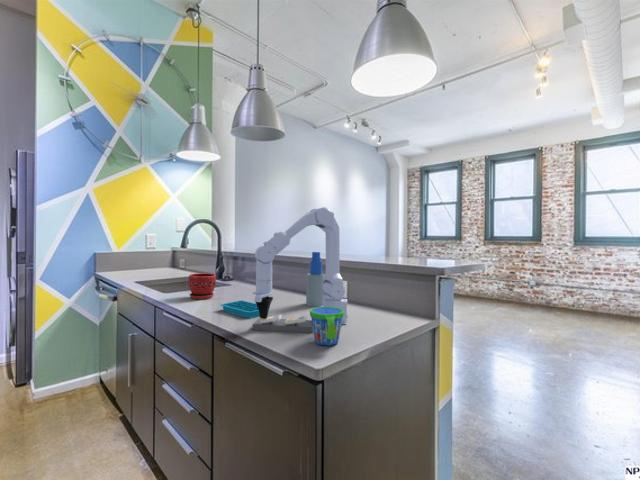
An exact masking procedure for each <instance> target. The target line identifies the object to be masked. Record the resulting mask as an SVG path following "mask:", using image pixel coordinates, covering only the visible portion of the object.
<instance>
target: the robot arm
mask: <svg viewBox="0 0 640 480" xmlns="http://www.w3.org/2000/svg"><path fill="white" fill-rule="evenodd" d="M310 226H314V227H315V226H316V227H317V228H319V229H321V230H322V231H323V232H324V234H325V273H324V274H325V275H324V277H323V283H322V285H321V290H322V292H323V293H324V302H323V306H322V307H336V308H340V309H342V310H343V311H344V315H343V317H342V323H341V325H347V323H348V322H347V321H348V318H349V314H348V299H347V298H344V296H345V294H346V288H345V285H344V280H343V279H344V278H343V277H342V276H341V273H340V270H341V269H340V266H341V265H340V226H339V223H338V222H337V220H336V218H335V213H334V212H333V211H332V210H331V209H330V208H328V207H325V206H324V207H323V206H322V207H320V208H313V209H311V210H309V212H307V213H305V214H304V215H302V216H300V218H299V219H298V220H296V222H294V223H293V224H292V225H290V227H288V228H287V229H286V230H285V231H279V232H274V233H273V236H272V237H271V238H270V239H268V240H266V241H264V242H262V243H263V245H260V246H258V247H257V248H256V249H255V251H254V257H255V259H256V261H255V262H256V266H255V290H254V291H252V295H255V296H254V303H256V304H257V307H258V310H259V314H260V316H259V318H263V319H266V318H267V317H269V310H270V308H271V307H270V306H271V304H272V302H273V300H274V297H273V296H272V295H274V292H273V261H274V260H275V257H276V256H277V255H278V254H279V253H281V251H283V250H284V249H286V247H288V246H289V245H290V243H291V239H293V238H294V236H296V235H297V234H299V233H300V232H302V231H303V230H304V229H305V228H307V227H310ZM269 307H270V308H269Z"/></svg>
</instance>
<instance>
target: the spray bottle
mask: <svg viewBox="0 0 640 480" xmlns="http://www.w3.org/2000/svg"><path fill="white" fill-rule="evenodd" d="M325 274H326V273H323V261H322V260H321V251H320V252H319V251H312V252H311V259H310V261H309V273H306V285H305V286H306V289H305V291H306V294H305V296H306V297H305V298H306V299H305V301H306V302H305V303H306V304H305V305H307V306H309V307H313V308H316V307H323V302H324V293H323V292H322V290H321V285H322V283H323V277H324V275H325Z"/></svg>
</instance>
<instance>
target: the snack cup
mask: <svg viewBox="0 0 640 480" xmlns="http://www.w3.org/2000/svg"><path fill="white" fill-rule="evenodd" d="M309 315H310V318H311V320H312V326H313V331H312V333H313V340H314V342H315V343H316V344H317V345H320V346H328V347H329V346H335V345H336V344H339V340H340V333H341V330H342V329H341V328H342V324H341V323H342V317H343V315H344V311H343V310H342V309H340V308H336V307H323V306H318V307H313V308H311V309H310V311H309Z"/></svg>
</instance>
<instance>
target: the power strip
mask: <svg viewBox="0 0 640 480" xmlns="http://www.w3.org/2000/svg"><path fill="white" fill-rule="evenodd" d="M261 319H262V318H260V317H259V318H257V320H255V321H254V322H253V323H252V324H251V325H252V327H251V328H252V331H265V332H266V331H267V332H268V331H269V332H287V333H292V332H293V333H307V334H308V333H309V334H312V333H313V326H312V319H306V321H305V322H299V323H292V324H286V325H285V321H286V320H287V319H288V318H281V319H280V320H278V321H272V322H266V323H261V324H260V320H261Z"/></svg>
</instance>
